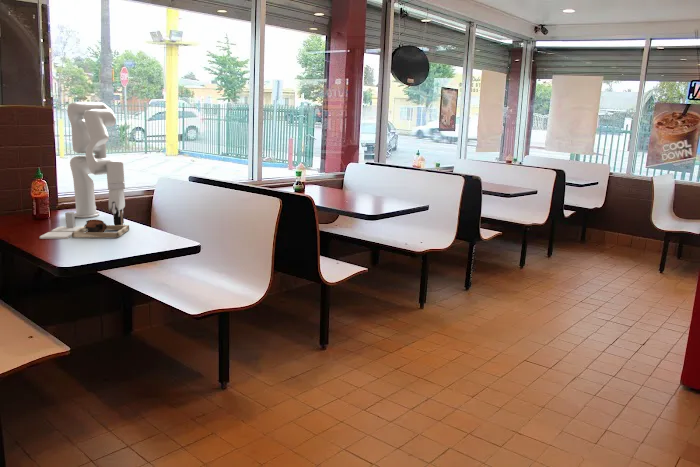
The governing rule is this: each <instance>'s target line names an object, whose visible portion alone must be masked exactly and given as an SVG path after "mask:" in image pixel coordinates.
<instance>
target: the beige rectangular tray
mask: <svg viewBox="0 0 700 467" xmlns="http://www.w3.org/2000/svg"><path fill="white" fill-rule="evenodd" d="M117 213H118V212H117ZM120 217H121V225H114V224H111V225H110V224H106V225H107V228H106V230H105V231H108V232H105V231H104V232H87V231H88V229H87V228H86V226H85V225H84V226H85V227H84V226H81V227H82V228H80V229H78V230H76V231H75V232H73V233H72V236H71V237H72V238H112V239H113V238H114V239H115V238H119V237H121V236H122V235H124V233H126V232H128V231H129V230H130V225H129V224H124V223H123V218H124V213H123V214H122V211H120ZM109 231H116V232H109Z"/></svg>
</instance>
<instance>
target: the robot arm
mask: <svg viewBox="0 0 700 467" xmlns="http://www.w3.org/2000/svg"><path fill="white" fill-rule="evenodd" d="M66 111H67V118H68V120H69V123H70V125H71V126H70V127H71V142H72V150H73V151H74V152H75V153H77V154H85V155H77V156H73V157H72V158H71V159H70V161H69V166H70V169H71V170H70V171H71V175H72V179H73V181H72V182H73V188H74V200H75V201H74V202H75V203H74V204H75V211H76V212H74V215H75V218H78V219H79V218H80V219H81V218H83V219H84V218H85V219H86V218H95V217H98V216H100V212H98V211H96V210H97V206H96V198H95V183H94V180H93V179H92V178H91V177H90V175H91V174H92V175H95V176H97V175H106V179H107V190H108V210H109V211H111V213H112V214H113V215H112V216H113V217H112V218H113V225H121V217H120V211H122V214H123V215H124V208H125V207H126V198H125V197H126V196H125V191H124V190H125V189H126V186H125V185H126V183H125V170H124V162H123V161H122V160H120V159H117V158H116V157H110V158H109V157H108V158H107V144H106V143H107V142H108V141H109V140H110V136H109V133H108V130H107V127H113V126H115V124H116V121H117V120H116V119H117V118H116V115H115V113H114V111H113V110H112V109H111V108H110V107H109V106H108V105H106V104H105V103H104V102H99V101H97V102H95V101H75V102H71V103H69V105H68V106H67V110H66ZM117 212H118V213H117ZM124 220H125V219H124V217H123V224H124V223H125V222H124Z"/></svg>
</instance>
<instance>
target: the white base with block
mask: <svg viewBox="0 0 700 467" xmlns="http://www.w3.org/2000/svg"><path fill="white" fill-rule="evenodd" d="M74 213H75V212H74V211H68V212H66V213H64V214H65V224H66V225H64V226H63V225H61V226H57V227H56V228H53V229H51V230H50V231H48V232H46V233H44V234H42V235H40V236H39V240H40V239H42V240H44V239H46V240H48V239H49V240H50V239H51V240H56V239H57V240H58V239H59V240H61V239H62V240H65V239H67V240H68V239H70V238H71V237H72V233H73V232H75V231H76V230H78V229H80V228H82V227H83V226H76V219H75V218H76V217H75V215H74Z"/></svg>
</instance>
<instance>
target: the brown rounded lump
mask: <svg viewBox="0 0 700 467" xmlns="http://www.w3.org/2000/svg"><path fill="white" fill-rule="evenodd" d="M107 225H108V224H106V223H105V222H104V221H103V220H100V219H88V220H87V221H86V222H85V224H84V226H83V227H85V226H86V228H87V229H88V230H86V232H105V231H107V230H106V228H107Z"/></svg>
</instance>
